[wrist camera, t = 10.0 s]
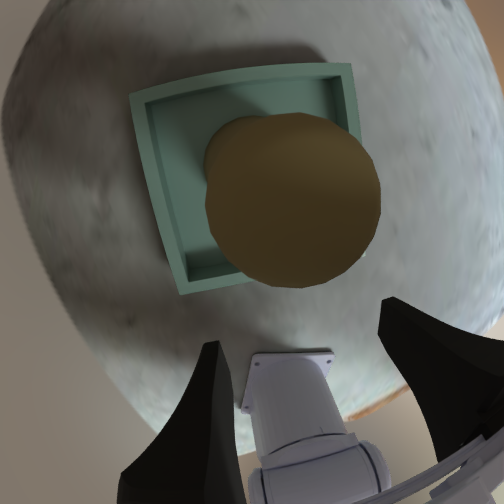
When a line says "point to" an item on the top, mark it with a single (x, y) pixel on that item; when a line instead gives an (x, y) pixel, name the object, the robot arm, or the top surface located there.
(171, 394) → the top surface
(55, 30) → the top surface
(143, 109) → the tray
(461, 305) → the top surface
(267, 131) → the cork
